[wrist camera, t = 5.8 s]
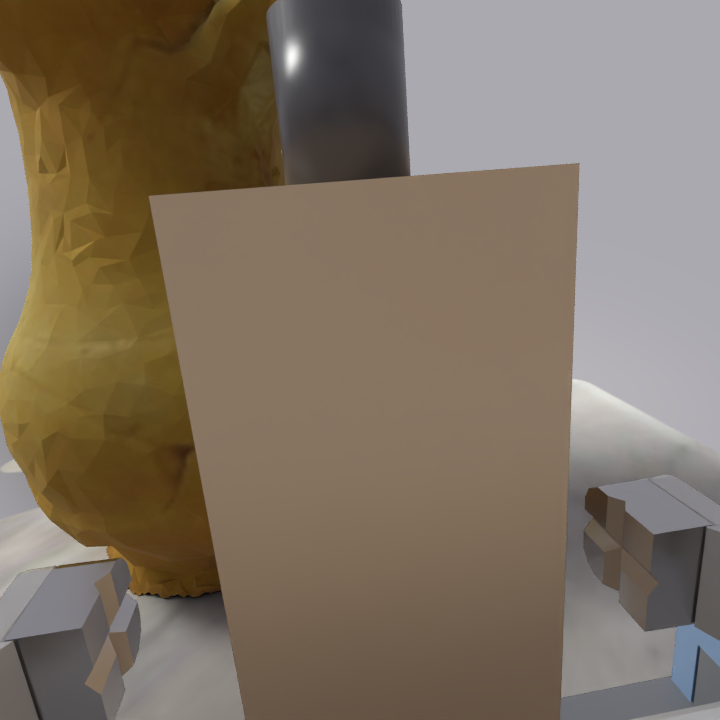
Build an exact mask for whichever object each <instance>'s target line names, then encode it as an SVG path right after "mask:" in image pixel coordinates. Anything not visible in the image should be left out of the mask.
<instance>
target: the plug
mask: <svg viewBox="0 0 720 720" xmlns="http://www.w3.org/2000/svg"><path fill="white" fill-rule="evenodd" d="M266 19H267V28H268V37H269V46H270V54H271V63H272V72H273V81H274V89H275V98H276V107H277V116H278V124H279V133H280V142H281V151H282V159H283V168H284V177H285V186H272V187H259V188H245V189H232V190H219V191H206V192H193V193H179V194H166V195H153V196H149V201H150V206H151V212H152V217H153V223H154V228H155V233H156V239H157V244H158V250H159V255H160V260H161V266H162V271H163V277H164V282H165V287H166V293H167V298H168V304H169V309H170V315H171V320H172V325H173V331H174V336H175V342H176V347H177V352H178V358H179V363H180V369H181V374H182V379H183V385H184V390H185V396H186V401H187V406H188V412H189V417H190V423H191V428H192V433H193V439H194V444H195V450H196V455H197V461H198V466H199V471H200V477H201V482H202V488H203V493H204V498H205V504H206V509H207V515H208V520H209V525H210V531H211V536H212V542H213V547H214V552H215V558H216V563H217V569H218V574H219V580H220V585H221V590H222V596H223V601H224V607H225V612H226V617H227V623H228V628H229V634H230V639H231V644H232V650H233V655H234V661H235V666H236V671H237V677H238V682H239V688H240V693H241V698H242V704H243V709H244V715H245V720H560V709H561V680H562V652H563V623H564V594H565V565H566V536H567V507H568V479H569V450H570V421H571V392H572V363H573V334H574V333H573V332H574V305H575V275H576V248H577V219H578V191H579V163H576V164H563V165H550V166H536V167H523V168H509V169H496V170H483V171H470V172H456V173H443V174H430V175H418V176H410V158H409V138H408V118H407V100H406V99H407V98H406V78H405V59H404V39H403V19H402V4H401V1H400V0H278V1H276V2H275V3H274V4H273V5H271V6H270V8H269V9H268V11H267V13H266Z"/></svg>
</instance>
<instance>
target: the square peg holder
mask: <svg viewBox="0 0 720 720" xmlns="http://www.w3.org/2000/svg"><path fill="white" fill-rule="evenodd" d="M719 701H720V641H719V640H717V639H715V638H713V637H712V636H710V635H708V634H706V633H705V632H703V631H701V630H699V629H697V628H696V627H694V624H691V625H684V626H678V627H677V631H676V640H675V649H674V658H673V667H672V676H669V677H664V678H659V679H654V680H649V681H644V682H639V683H634V684H629V685H624V686H619V687H614V688H609V689H604V690H599V691H594V692H589V693H584V694H579V695H574V696H569V697H564V698H561V709H560V720H631V719H636V718H641V717H646V716H651V715H655V714H660V713H665V712H670V711H675V710H680V709H685V708H690V707H695V706H699V705H704V704H709V703H714V702H719Z"/></svg>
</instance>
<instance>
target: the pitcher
mask: <svg viewBox="0 0 720 720" xmlns="http://www.w3.org/2000/svg"><path fill="white" fill-rule="evenodd" d="M276 1H278V0H0V74H1V77H2V79H3V81H4V83H5V85H6V88H7V90H8V94H9V99H10V104H11V108H12V111H13V115H14V118H15V122H16V125H17V129H18V132H19V138H20V144H21V150H22V156H23V161H24V168H25V174H26V180H27V186H28V196H29V206H30V216H31V230H32V260H31V261H32V271H31V277H30V285H29V290H28V293H27V297H26V301H25V304H24V308H23V311H22V314H21V318H20V321H19V323H18V325H17V327H16V329H15V331H14V334H13V336H12V338H11V340H10V342H9V346H8V348H7V350H6V353H5V356H4V359H3V363H2V367H1V371H0V418H1V422H2V425H3V430H4V434H5V439H6V443H7V446H8V448H9V451H10V453H11V454H12V456H13V458H14V459H15V461H16V462H17V464H18V465H19V467H20V468H21V470H22V471H23V473H24V474H25V475H26V478H27V481H28V484H29V486H30V488H31V490H32V493H33V495H34V497H35V500H36V502H37V504H38V505H39V507H40V508H41V509H42V510H43V512H44V513H45V514H46V516H47V517H48V518H49V519H50V520H51V521H52V522H53V523H55V524H56V525H57V526H59V527H60V528H61V529H62V530H64V531H65V532H66V533H68V534H69V535H70V536H72V537H73V538H74V539H75V540H77V541H78V542H79V543H81V544H82V545H84V546H86V547H95V546H108V547H107V549H106V550H107V553H108V556H109V559H114V558H123V559H124V560H125V561H126V562H127V564H128V567H129V571H130V574H131V578H132V580H131V582H130V585H129V587H128V588H130V591H132V593H133V594H134V593H137V595H141V594H142V593H143V594H146V593H148V592H149V593H150V594H151V595H153V594H156V593H157V594H158V595H159V596H160V597H162V598H168V597H170V596H171V595H173V596H175V595H176V594H178V595H180V596H182V597H185V596H186V595H187V594H188V595H190V596H192V597H198V596H200V595H201V594H203V593H205V592H210V594H212V593H213V592H214V591H220V590H221V585H220V580H219V574H218V569H217V563H216V558H215V552H214V547H213V542H212V536H211V531H210V525H209V520H208V515H207V509H206V504H205V498H204V493H203V488H202V482H201V477H200V471H199V466H198V461H197V455H196V450H195V444H194V439H193V433H192V428H191V423H190V417H189V412H188V406H187V401H186V396H185V390H184V385H183V379H182V374H181V369H180V363H179V358H178V352H177V347H176V342H175V336H174V331H173V325H172V320H171V315H170V309H169V304H168V298H167V293H166V287H165V282H164V277H163V271H162V266H161V260H160V255H159V250H158V244H157V239H156V233H155V228H154V223H153V217H152V212H151V206H150V201H149V196H153V195H166V194H179V193H193V192H206V191H219V190H232V189H245V188H259V187H272V186H285V177H284V168H283V159H282V154H281V142H280V133H279V124H278V116H277V107H276V98H275V89H274V81H273V72H272V63H271V54H270V46H269V37H268V28H267V19H266V13H267V11H268V9H269V8H270V6H271V5H273V4H274V3H275V2H276Z"/></svg>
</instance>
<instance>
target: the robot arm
mask: <svg viewBox="0 0 720 720" xmlns="http://www.w3.org/2000/svg"><path fill="white" fill-rule="evenodd" d="M585 510H586V511H587V513H588V514H589V515H590V516H591V518H592V519H591V521H590V522H589V523H588V525H587V526H586V528H585V529H584V550H585V554H586V557H587V561H588V563H589V565H590V567H591V569H592V571H593V572H594V574H595V575H596V576H597V577H598V579H599V580H600V581H601V582H602V583H603V584H605V585H607V586H609V587H611V588H613V589H615V590H617V591H619V603H620V604H621V605H622V606H623V607H624V609H625V610H626V611H627V612H628V613H629V614H630V615H631V616H632V618H633V619H634V620H635V621H636V622H637V623H638V624H639V626H640V627H641V628H642V629H643V630H644V631H652V630H658V629H665V628H671V627H678V626H684V625H691V624H694V627H696V628H697V629H699V630H701V631H703V632H705V633H706V634H708V635H710V636H712V637H713V638H715V639H717V640H719V641H720V505H719V504H717V503H716V502H714V501H713V500H711V499H710V498H708V497H707V496H705V495H704V494H702V493H700V492H699V491H697V490H696V489H694V488H693V487H691V486H690V485H688V484H687V483H685V482H683V481H682V480H680V479H679V478H677V477H676V476H672V475H667V474H664V475H659V476H654V477H648V478H643V479H640V480H634V481H628V482H623V483H617V484H611V485H605V486H599V487H594V488H589V489H588V492H587V494H586V496H585ZM131 580H132V578H131V574H130V571H129V567H128V564H127V562H126V561H125V560H124V559H123V558H114V559H106V560H99V561H91V562H83V563H75V564H68V565H60V566H52V567H45V568H39V569H33V570H27V571H25V572H22V573H20V574H19V575H18V576H17V577H16V578H15V580H14V581H13V582H12V583H11V585H10V586H9V587H8V589H7V590H6V591H5V593H4V594H3V595H2V596H1V598H0V720H115V718H116V715H117V712H118V709H119V706H120V703H121V700H122V698H123V695H124V692H125V687H124V683H123V679H122V676H123V675H124V674H125V673H126V672H127V671H128V670H129V669H130V668H131V667H132V666H133V665H134V663H135V660H136V657H137V653H138V650H139V644H140V636H141V620H140V612H139V607H138V603H137V601H136V600H134V599H133V598H132V597H131V596H129V595H128V594H127V593H126V592H127V590H128V587H129V585H130V582H131ZM631 720H720V701H719V702H714V703H709V704H704V705H699V706H695V707H690V708H685V709H680V710H675V711H670V712H665V713H660V714H655V715H651V716H646V717H641V718H636V719H631Z"/></svg>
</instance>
